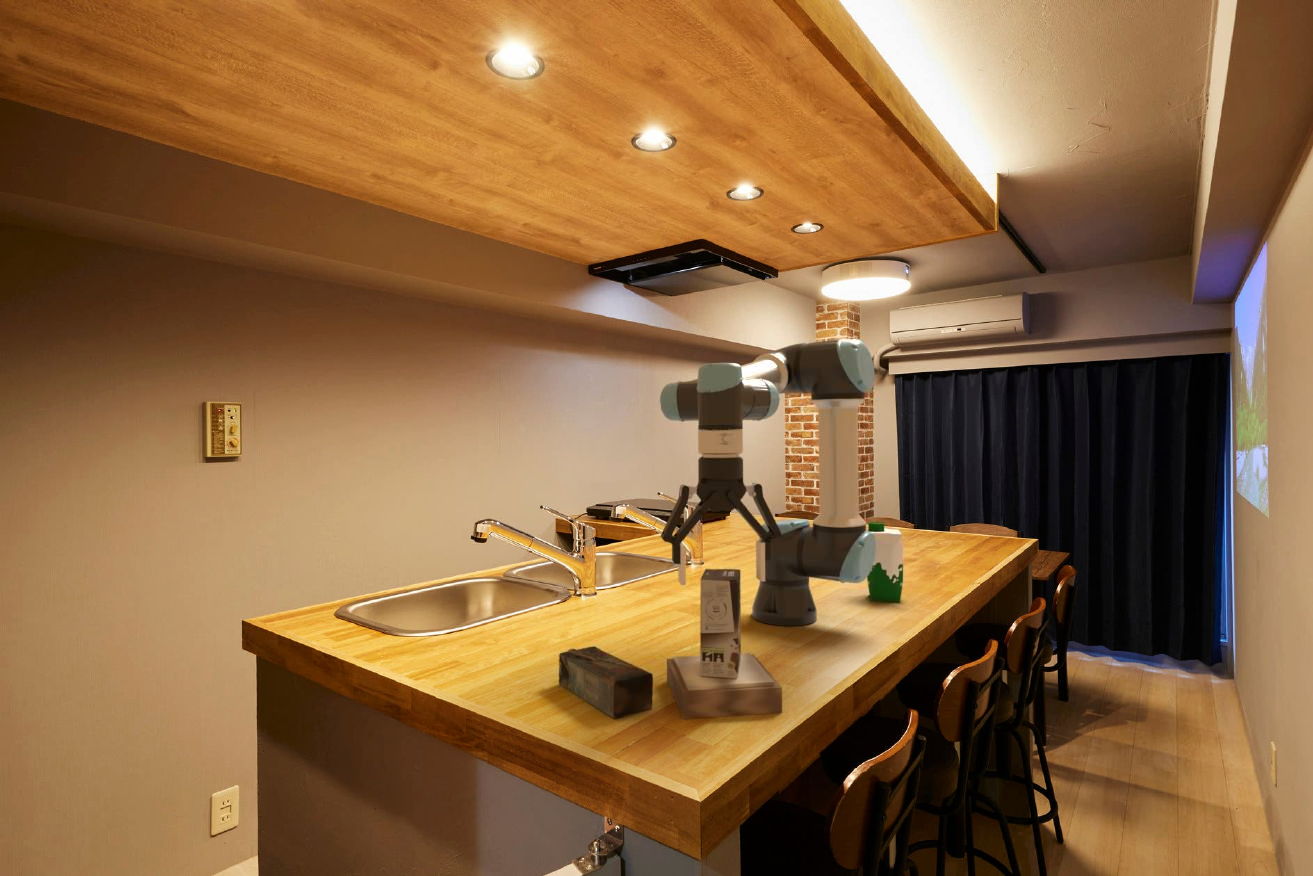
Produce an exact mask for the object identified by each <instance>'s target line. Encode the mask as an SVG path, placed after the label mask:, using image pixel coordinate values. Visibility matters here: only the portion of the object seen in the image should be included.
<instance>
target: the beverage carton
mask: <svg viewBox="0 0 1313 876" xmlns="http://www.w3.org/2000/svg"><path fill="white" fill-rule="evenodd" d="M558 657H559V658H558V659H559V660H558V685H560V686H561V687H563V688H565V689H566V690H567V691H568V692H571V693H572V694H574V695H575V696H577V697H578V698H581V699H582V700H583V701H585V702H586V703H587V704H588V703H589V704H590V705H591V706H593V707H595V708H596V709H598V710H599V711H601V712H604V713H605V714H606V715H608V716H609V717H610V718H612V719H613V720H614V719H620V718H622V717H626V716H630V715H636V714H638V713H641V712H642V713H643V712H645V711H648V710H649V711H650V710H652V708H653V695H654V693H653V692H654V691H653V690H654V689H653V688H654V676H653V673H652V672H649V671H647V670H645V669H643V668H641V667H639V666H636V665H634V664H632V663H629V662H627V661H625V660H623V659H621V658H619V657H616V656H615V655H613V654H611V653H609V652H606V651H604V650H602V649H601V648H599V647H597V646H594V645H593V646H588V647H584V648H583V647H582V648H578V649H576V648H569V649H568V650H567V651H564V652H561V653H559V654H558Z"/></svg>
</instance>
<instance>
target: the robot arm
mask: <svg viewBox="0 0 1313 876" xmlns="http://www.w3.org/2000/svg"><path fill="white" fill-rule="evenodd" d="M875 373H876V372H875V365H874V361H873V358H872V355H871V352H870V351H869V348H868V347H867V345H866V344H865V343H864V342H863V341H861V340H860V339H843V338H842V339H834V340H833V339H832V340H826V341H815V342H801V343H800V342H799V343H795V344H791V345H790V344H789V345H788V346H785V347H781V348H779V349H776V350H773V351H770V352H767V353H764V354H760V355H759V356H757V357H756V358H755V359H754V360H753V362H749V363H745V364H743V365H740V364H738V363H735V362H715V363H714V362H713V363H705V364H702V365H701V366H700V367H699V368H698V371H697V378H696V379H693V380H688V381H687V380H686V381H681V380H679V381H676V382H669V383H667V384H666V385H665V386H664V387H663V388H662V390H661V393H660V396H659V403H660V410H661V413H662V414H663V416H664V417H665V418H666V419H668V420H670V421H677V422H678V421H680V422H683V423H684V422H687V421H689V422H690V421H691V422H692V421H695V422H696V421H698V425H697V427H698V428H697V441H698V442H697V453H698V454H699V455H701V456H700V457H699V458H698V460H697V462H698V463H697V464H698V465H697V466H698V468H697V469H698V471H697V473H698V479H697V480H698V482H697V485H696V486H689V485H686V484H681V485H680V486H679V492H678V498H677V500H676V502H675V505H674V507H673V508H672V510H671V513H670V514H669V517H668V519H667V521H666V524H665V526H664V528H663V529H662V532H661V534H660V538H661V539H662V541H664V542H665V543H669V544H671V560H672V563H673V564H674V565H677V567H678V569H677V571H678V572H677V573H678V574H677V575H678V579H677V580H678V583H679V584H680V586H686V585H687V584H686V583H687V582H686V580H687V578H686V577H687V576H686V572H687V571H686V569H687V568H686V567H687V566H686V545H685V544H684V543H683V541H684V539H686V537H688V535H689V533H691V532H692V530H693V529H694V528H695V526H696V525H697V523H699V521H700V520H701V519H702V517H703V516H705V515H706V513H708V511H711V512H713V513H715V512H716V513H717V512H721V511H724V512H732V511H733V510H736V511H737V512H738V513H739V515H740V516H741V517H742V518H743V519H744V521H746V523H747V524H748V525H749V526H750V527H751V529H752V530H753V531H754V532H755V533H756V534H757V535H758V538H759V539H757V540H755V565H756V566H755V570H756V571H755V573H756V575H755V577H756V579H757V580H759V583H758V584H759V585H758V588H757V591H756V594H755V597H754V601H753V604H752V608H751V610H752V612H751V613H752V618H753V619H754V620H756V621H758V622H761V623H764V624H769V625H774V626H783V627H784V626H787V627H790V626H791V627H792V626H793V627H795V626H796V627H797V626H804V625H810V624H812V623H814V622H816V621H817V619H818V617H817V616H818V614H817V613H818V609H817V606H816V603H815V600H814V598H813V597H814V596H813V593H812V591H811V588H810V578H812V579H819V580H827V581H833V582H839V583H842V584H845V583H849V584H860V583H862V582H864V581H865V580H867V576H868V575H869V573H870V571H871V569H872V566H873V563H874V559H875V554H876V540H875V536H874V534H873V533H871V532H869V531H868V530H867V522H866V520H864V518H862V516H861V515H860V507H859V505H860V504H859V500H860V499H859V498H860V497H859V495H860V494H859V492H860V491H859V486H860V485H859V411H858V409H859V407H860V406H861V404H863V403H864V402H865V401H866V396H865V395H866V394H865V393H869V392H870V391H872V389H873V387H874V385H875V384H874V382H875V378H876V377H875ZM780 394H794V395H795V394H796V395H797V394H799V395H800V394H803V395H805V394H806V395H807V394H811V395H810V396H811V397H810V400H811V401H810V402H811V403H812V404H813V405H814V406H815V407H816V408H817V410H818V411H817V413H818V414H817V416H818V421H817V423H818V484H819V485H818V486H819V487H818V491H819V492H818V493H819V499H818V500H819V505H818V506H819V514H818V515H817V516H816V517H815V518H814V519H813V520H812V526H810V525H811V523H810V521H809V519H803V518H796V519H793V518H792V519H784V520H775V518H774V516H773V513H772V512H771V510H770V508H769V506H768V503H767V501H766V500H765V497H764V492H763V490H764V489H763V486H762V484H760V483H757V482H752V484H746V485H745V482H744V459H743V457H742V456H740V455H741V454H742V453H743V452H744V443H743V441H744V440H743V438H744V436H743V435H744V434H743V429H744V427H743V421H753V422H756V421H757V422H759V421H760V422H761V421H762V420H766V419H769V418H771V417H772V416H773V415H775V413H776V412H777V410H778V409H779V407H780V399H781V398H780ZM746 493H747V494H748V495H749V497H751V498H753V501H754V503H755V506H756V507H757V509H758V511H759V514H760V516H761V517H762V520H763V521H764V523H763V524H761V523H760V522H759V521H758V520H757V519H756V518H755V516H754V515H753V514H752V513H751V511H750V510H749V509H748V507H747V506H746V505H745V504H744V503H743V501H742V499H743V498H744V496H745V495H746ZM694 495H696V496H697V497H698V498H699V499H700V501H699V502H698V503H697V504H696V506H695V507H694V510H693V511H692V512H691V513H690V514H689V515H688V516H687V518H686V519H685V520H684V522H682V524H681V526H679V528H678V529H677V530H676V527H677V526H678V523H679V521H680V519H681V517H682V515H683V514H684V511H685V508H686V507H687V505H688V502H689V500H690V499H692V498H693V496H694ZM675 530H676V532H675ZM674 532H675V533H674Z"/></svg>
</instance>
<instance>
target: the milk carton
mask: <svg viewBox="0 0 1313 876" xmlns="http://www.w3.org/2000/svg"><path fill="white" fill-rule="evenodd" d="M867 527H868V529H867V531H869V532H871V533H873V534H874V536H875V540H876V554H875V559H874V563H873V566H872V569H871V571H870V573H869V575H868V576H867V578H866V582H867V588H868V594H869V597H870V600H871V602H884V603H885V602H886V603H901V598H902V593H903V584H904V546H903V534H902V533H901V531H900V530H899V529H889V528H885V523H884V522H880V521H869V522H868V526H867Z"/></svg>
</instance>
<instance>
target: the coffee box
mask: <svg viewBox="0 0 1313 876" xmlns="http://www.w3.org/2000/svg"><path fill="white" fill-rule="evenodd" d="M741 597H742V596H741V569H740V568H739V569H736V568H717V569H715V568H714V569H712V568H709V569H708V568H705V569H704V572H703V573H702V575H701V577H700V600H699V601H700V616H699V617H700V626H699V627H700V628H699V629H700V633H699V635H700V636H699V637H700V638H699V640H700V642H699V643H700V645H699V646H700V647H699V649H700V653H699V656H700V676H705V677H719V678H731V679H736V678H738V673H739V667H740V661H741V654H742V652H741V651H742V649H741V648H742V645H741V644H742V641H741V639H742V632H741V631H742V630H741V627H742V626H741V625H742V624H741V623H742V622H741V620H742V619H741V617H742V616H741V611H742V610H741V609H742V608H741Z"/></svg>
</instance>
